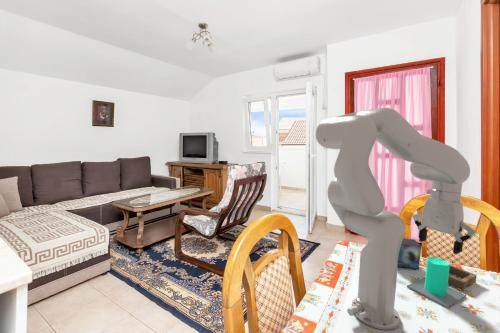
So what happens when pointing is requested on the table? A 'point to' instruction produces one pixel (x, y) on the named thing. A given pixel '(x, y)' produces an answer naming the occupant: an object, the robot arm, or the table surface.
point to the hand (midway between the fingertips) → (438, 246)
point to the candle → (437, 276)
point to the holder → (466, 277)
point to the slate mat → (445, 301)
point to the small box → (409, 254)
